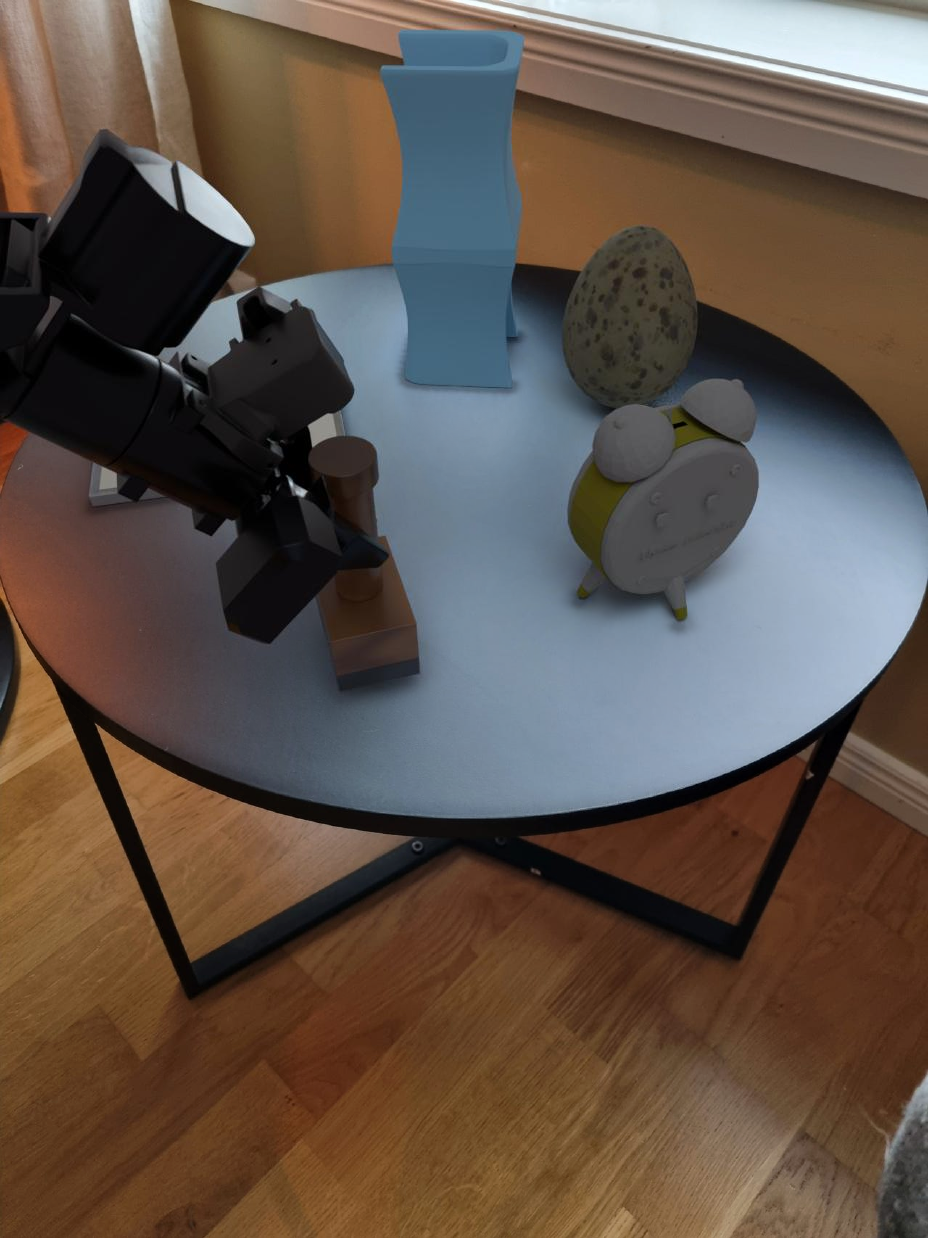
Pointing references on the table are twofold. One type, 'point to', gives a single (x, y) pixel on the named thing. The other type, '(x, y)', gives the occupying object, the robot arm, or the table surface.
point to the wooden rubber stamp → (362, 578)
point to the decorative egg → (630, 319)
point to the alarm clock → (665, 490)
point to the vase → (457, 202)
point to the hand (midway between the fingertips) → (378, 542)
